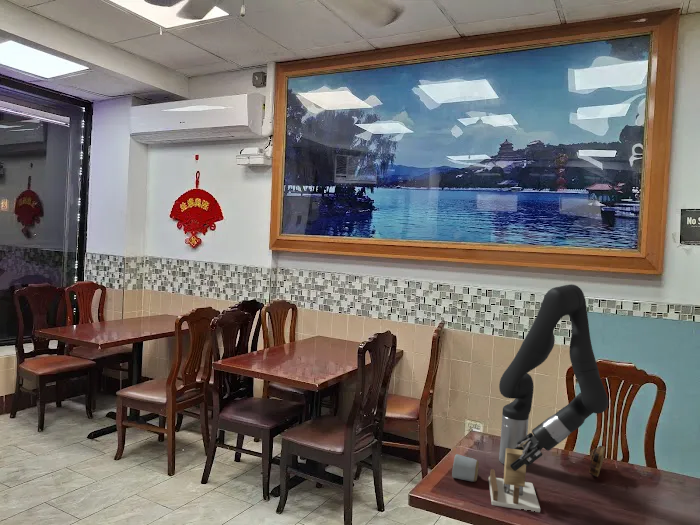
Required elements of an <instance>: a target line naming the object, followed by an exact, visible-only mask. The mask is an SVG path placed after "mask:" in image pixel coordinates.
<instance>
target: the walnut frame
mask: <svg viewBox="0 0 700 525" xmlns="http://www.w3.org/2000/svg"><path fill="white" fill-rule="evenodd" d="M489 474H490V475H489V477H490V480H491V487H492V494H493V500H495V501H497V499H498V488H497V482H496V478H497V476H496V471H495V469H494V468H490V473H489ZM518 500H519V486H516V485H514V493H513V503H514V504H518Z"/></svg>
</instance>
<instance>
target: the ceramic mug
mask: <svg viewBox="0 0 700 525" xmlns="http://www.w3.org/2000/svg"><path fill="white" fill-rule="evenodd" d="M479 466H480V462H479V460H477V459H475V458H472V457H468V456H465V455H461V454H459V453H456V454H455V455H454V457H453V465H452V471H451V477H452V479H458V480H461V481H462V480H463V481H468V482H472V483H473V482H474V483H475V482H476V481H477V480H478V475H479V474H478V473H479V468H480V467H479Z"/></svg>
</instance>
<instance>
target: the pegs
mask: <svg viewBox="0 0 700 525" xmlns="http://www.w3.org/2000/svg"><path fill="white" fill-rule="evenodd" d="M504 492H505V493H507V494H509V493H510V485H509V484H505V483H504ZM519 495H520V496H522V495H523V486H519Z"/></svg>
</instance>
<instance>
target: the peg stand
mask: <svg viewBox="0 0 700 525" xmlns="http://www.w3.org/2000/svg"><path fill="white" fill-rule="evenodd" d="M496 482H497V488H498V499H497V501H495V500H493V494H492V487H491V480H490V476H488V486H489V494H490V501H491V505H492V506H496V507H503V508H509V509H515V510H521V509H524V510H523V511H527V510H531V511H530V512H534V511H535V512H534V513H541V507H540V503H539V500H538V497H537V495H536V491H535V487H534V485H533V482H529V481H525V487H523V495H522V496H520V495H519V500H518V504H514V503H513V493H514V485H510V493H509V494H507V493H505V492H504V478H502V477H496Z"/></svg>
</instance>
